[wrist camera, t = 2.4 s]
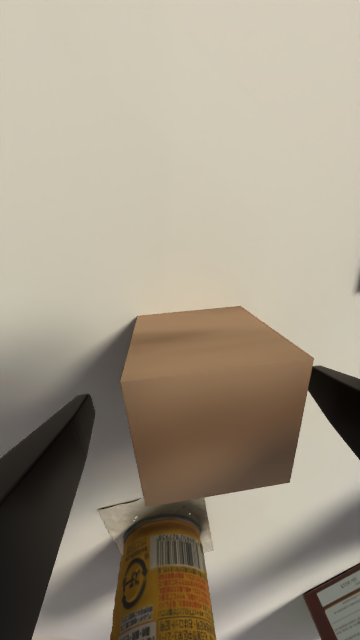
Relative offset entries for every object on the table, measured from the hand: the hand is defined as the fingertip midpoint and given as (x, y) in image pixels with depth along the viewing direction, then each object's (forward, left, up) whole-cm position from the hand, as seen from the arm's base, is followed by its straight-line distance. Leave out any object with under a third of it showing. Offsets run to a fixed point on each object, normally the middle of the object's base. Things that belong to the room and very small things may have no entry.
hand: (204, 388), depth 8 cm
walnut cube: (0, 0, -3) cm, 3 cm away
